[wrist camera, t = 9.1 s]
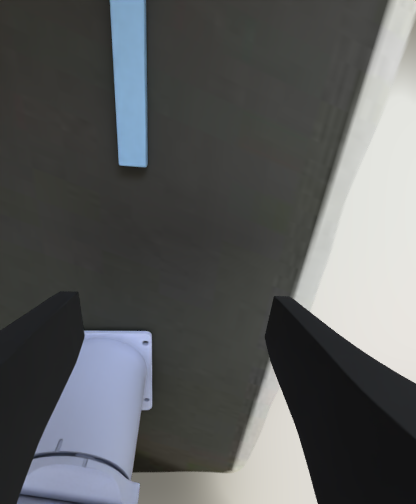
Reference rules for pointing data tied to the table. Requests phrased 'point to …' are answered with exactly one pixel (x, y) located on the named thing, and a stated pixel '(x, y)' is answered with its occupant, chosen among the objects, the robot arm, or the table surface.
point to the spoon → (130, 80)
